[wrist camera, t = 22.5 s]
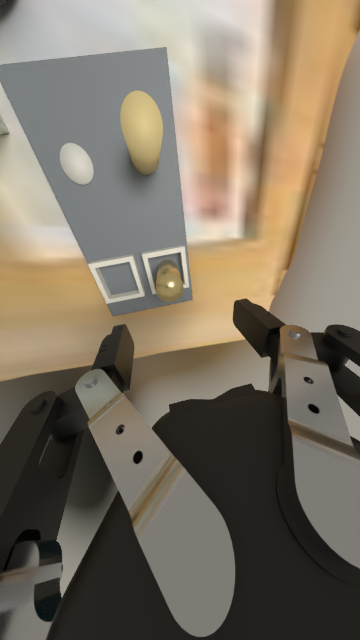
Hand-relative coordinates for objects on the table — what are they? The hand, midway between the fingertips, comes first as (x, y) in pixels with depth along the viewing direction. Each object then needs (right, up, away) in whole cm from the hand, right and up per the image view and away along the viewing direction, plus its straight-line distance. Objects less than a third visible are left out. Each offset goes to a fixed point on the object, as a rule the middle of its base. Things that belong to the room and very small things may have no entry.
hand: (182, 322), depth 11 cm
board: (-7, +13, +9) cm, 17 cm away
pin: (-2, +8, +12) cm, 14 cm away
